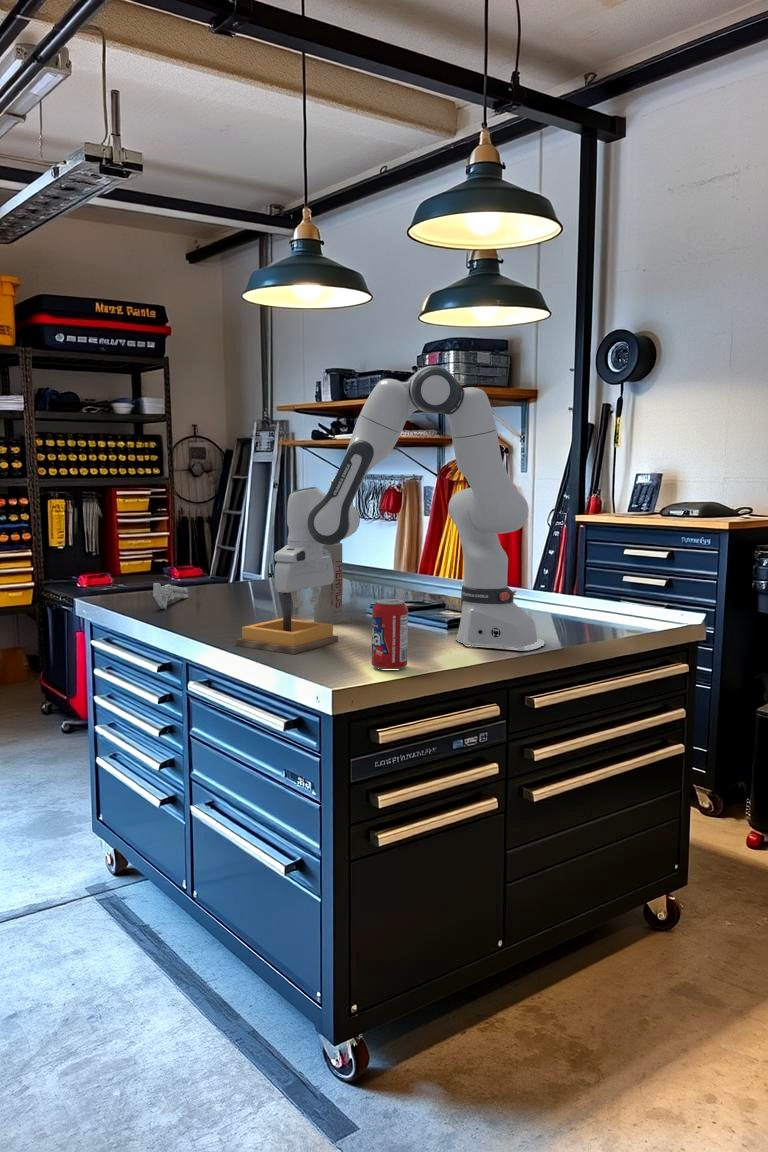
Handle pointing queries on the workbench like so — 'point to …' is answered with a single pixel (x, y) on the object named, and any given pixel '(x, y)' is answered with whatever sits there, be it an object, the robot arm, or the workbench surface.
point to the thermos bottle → (331, 591)
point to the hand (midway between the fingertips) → (306, 605)
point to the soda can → (389, 634)
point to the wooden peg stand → (288, 628)
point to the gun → (167, 593)
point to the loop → (297, 636)
